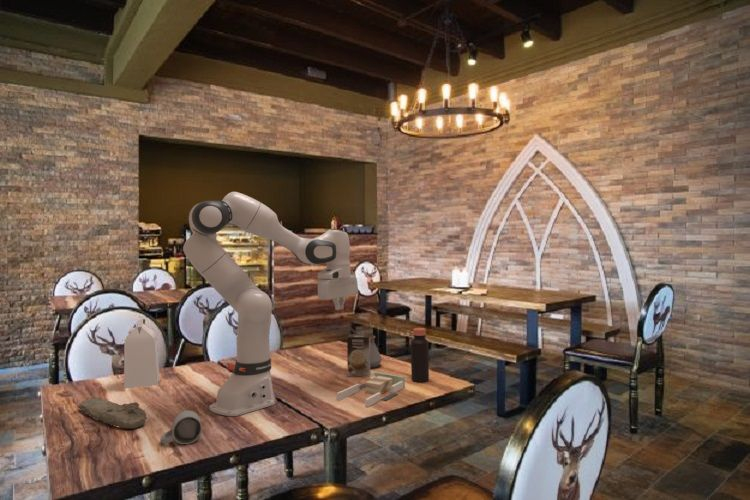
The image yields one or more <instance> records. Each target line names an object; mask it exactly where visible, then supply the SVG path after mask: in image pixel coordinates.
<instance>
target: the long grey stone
mask: <svg viewBox="0 0 750 500" xmlns="http://www.w3.org/2000/svg"><path fill="white" fill-rule="evenodd" d="M79 408H80V409H81V410H80V412H82V411H83V412H82V413H84V412H85V413H84V415H86V414H87V415H90V416H89V417H91V416H92V417H94V418H95V419H98V420H101V421H100V422H102V421H104V422H103V424H105V423H107V424H106V425H108V424H112V425H115V426H119V427H120V429H124V428H125V429H137V428H140V427H141V426H143V425H145V424H144V423H146V420H147V413H146V411H145V410H144V409H142V408H140V403H138V402H136V401H135V402H134V401H133V402H129V403H123V404H119V403H117V402H112V401H109V400H106V399H103V398H101V397H99V398H98V397H92V398H87V399H84V400H82V401H81V402H80V403H79V404H78V409H79ZM92 417H91V418H92ZM94 418H93V419H94ZM95 419H94V420H95ZM98 420H97V421H98ZM112 425H111V426H112Z"/></svg>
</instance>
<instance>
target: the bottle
mask: <svg viewBox="0 0 750 500" xmlns="http://www.w3.org/2000/svg"><path fill="white" fill-rule="evenodd" d="M412 331H413V334H412V335H413V339H412V340H411V341H410V360H411V362H410V363H411V368H410V369H411V372H410V373H411V381H413V382H414V383H427V382H428V381H429V380H430V373H429V371H430V366H429V365H430V363H429V357H430V356H429V355H430V353H429V352H430V351H429V340H427V338H426V336H427V329H426V328H424V327H415V328H413V330H412Z"/></svg>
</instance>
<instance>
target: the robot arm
mask: <svg viewBox="0 0 750 500" xmlns="http://www.w3.org/2000/svg"><path fill="white" fill-rule="evenodd" d="M187 222H188V227H189V231H190V236H189V237H187V240H186V241H185V242H184V244H183V246H182V247H183V253H184V256H186V258H187V260H188V261H189V262H190V264H191V265H192V266H193V267H194V269H195V270H196V271H197V272H198V273H199V274H200V276H201V277H203V278H204V280H206V282H207V283H209V285H210V286H211V287H212V288H213V289H214V290H215V291H216V292H217V293H218V294H219V295H220V296H221V298H223V300H224V301H225V302H226V303H228V305H230V307H231V308H232V309H233V310H234V311H235V312H236V313H237V329H236V330H237V331H236V332H237V333H236V340H235V341H236V360H235V363H234V364H231V363H228V364H227V365H226V369H227V370H228V371H232V373H231V375H230V376H229V377H228V379H227V380H226V381H225V382H224V383H223V384H222V385H221V386H220V387H219V388H218V390H217V394H216V402H213V403H212V404H210V405H209V407H208V408H209V411H210V412H212V413H214V414H217V415H221V416H227V417H237V416H241V415H244V414H248V413H250V412H251V413H252V412H254V411H258V410H261V409H265V408H267V407H272V406H274V405H276V395H275V390H274V386H273V381H272V375H271V370H272V358H271V356H270V354H271V353H270V334H271V324H272V323H271V321H272V311H273V303H272V299H271V298H270V296H269V294H267V293H266V292H264V291H262V290H261V289H260V288H258V286H257V285H256V284H255V282H253V281H252V279H251V278H250V277H249V276H248V274H247V273H246V272H245V271H244V270H243V268H241V266H240V265H239V264H238V262H236V261H235V259H233V257H232V256H231V255H230V254H229V253H228V252H227V251H226V250H225V249H224V248H223V247H222V246H221V245H220V242H218V239H217V233H219V232H220V231H222V230H223V229H224V228H225V227H226V226H227V225H229V224H232V225H234V226H237V227H239V228H241V229H242V230H244V231H246V232H248V233H250V234H252V235H255V236H257V237H260V238H262V239H267V240H270V241H273V242H274V243H277V244H279V245H280V246H282V247H283V248H285V249H287V250H288V251H290V252H291V253H292V254H293V255H294V257H295V258H296V259H297V260H298V262H299V263H301V264H303V265H315V266H319V265H322V264H326V268H324V269H322V270H321V271H319V272H318V273H317V279H319V280H318V282H317V297H318V299H319V300H322V301H328V300H332V302H333V304H334V309H335V310H336V311H339V310H343V309H344V304H345V302H346V297H350V296H355V295H358V293H359V285H358V278H357V275H356V273H355V271H353V270H351V262H350V261H351V260H350V255H351V254H350V253H351V249H350V247H351V245H350V238H349V234H348V232H347V231H345V230H342V229H337V228H336V229H335V228H329V229H327V231H325V232H324V233H322V234H321V235H318V236H316V237H314V238H309V237H301V236H300V235H297V234H296V233H295V232H293V231H290V230H289V229H287V228H286V227H284V226H283V225H282V224H281V223H280V221H279V218H278V215H277V213H276V212H275V211H273V209H271V208H270V207H268V206H267V205H266V204H264V203H262V202H261V201H259V200H257V199H255V198H254V197H251V196H248V195H246V194H245V193H242V192H241V193H240V192H238V191H231V192H228V194H226V195H225V196H224V197H223V199H222V200H204V201H201V202H199V203H196V204H195V205H194V206H193V207H192V208H191V209H190V211H189V213H188V217H187Z"/></svg>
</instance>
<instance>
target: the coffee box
mask: <svg viewBox="0 0 750 500" xmlns="http://www.w3.org/2000/svg"><path fill="white" fill-rule="evenodd" d="M370 335H371V334H366V333H365V334H363V333H362V334H361V333H357V334H354V333H349V334H348V335H347V339H346V342H347V344H346V345H347V346H346V347H347V355H346V357H347V359H346V361H347V365H346V366H347V377H360V378H361V377H365V378H366V377H369V378H370V375H371V370H372V369H371V368H370Z"/></svg>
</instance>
